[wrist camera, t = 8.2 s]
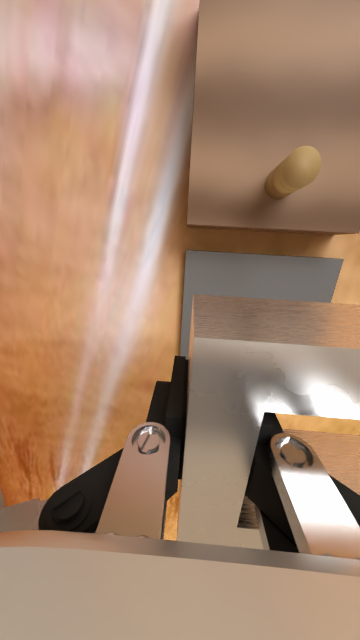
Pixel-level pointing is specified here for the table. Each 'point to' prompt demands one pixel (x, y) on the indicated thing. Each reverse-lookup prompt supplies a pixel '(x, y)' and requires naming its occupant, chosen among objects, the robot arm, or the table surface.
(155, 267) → the table surface
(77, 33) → the table surface
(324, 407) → the c link
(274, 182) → the stand
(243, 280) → the mat
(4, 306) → the table surface
